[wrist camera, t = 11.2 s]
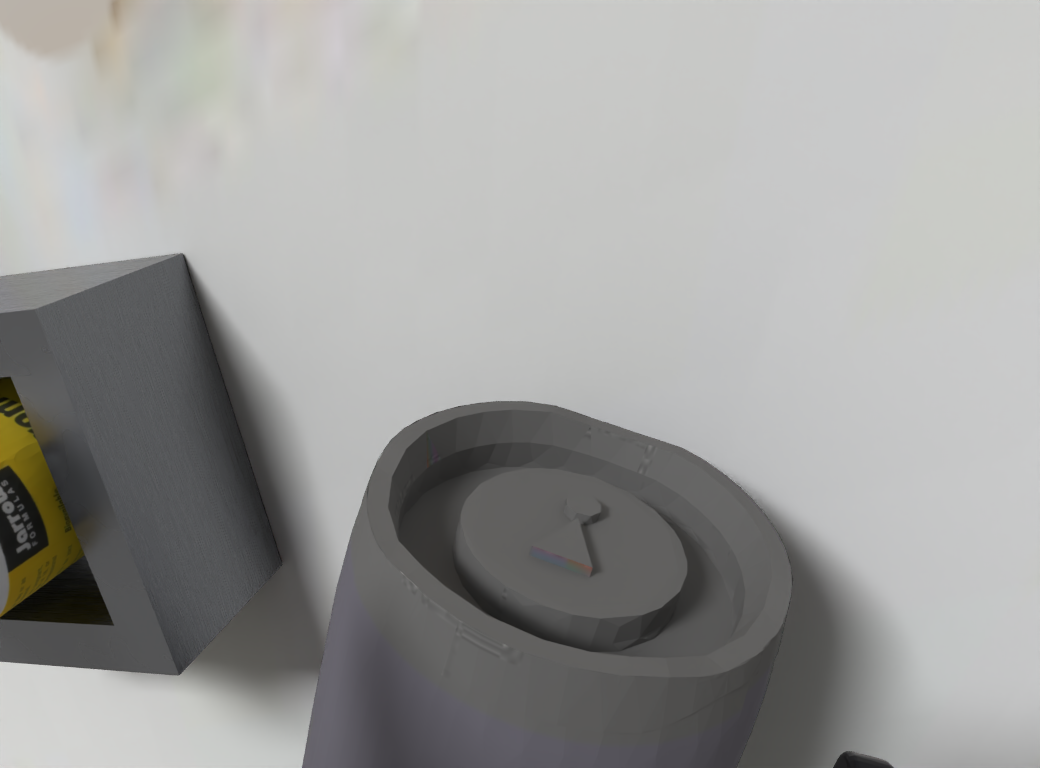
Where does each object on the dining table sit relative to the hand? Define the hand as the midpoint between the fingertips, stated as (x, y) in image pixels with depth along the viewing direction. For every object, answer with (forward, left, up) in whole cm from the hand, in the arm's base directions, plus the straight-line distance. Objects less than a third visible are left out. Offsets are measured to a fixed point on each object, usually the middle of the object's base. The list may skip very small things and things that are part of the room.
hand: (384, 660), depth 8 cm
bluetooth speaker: (-13, +4, -13) cm, 19 cm away
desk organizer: (-3, +21, -13) cm, 24 cm away
